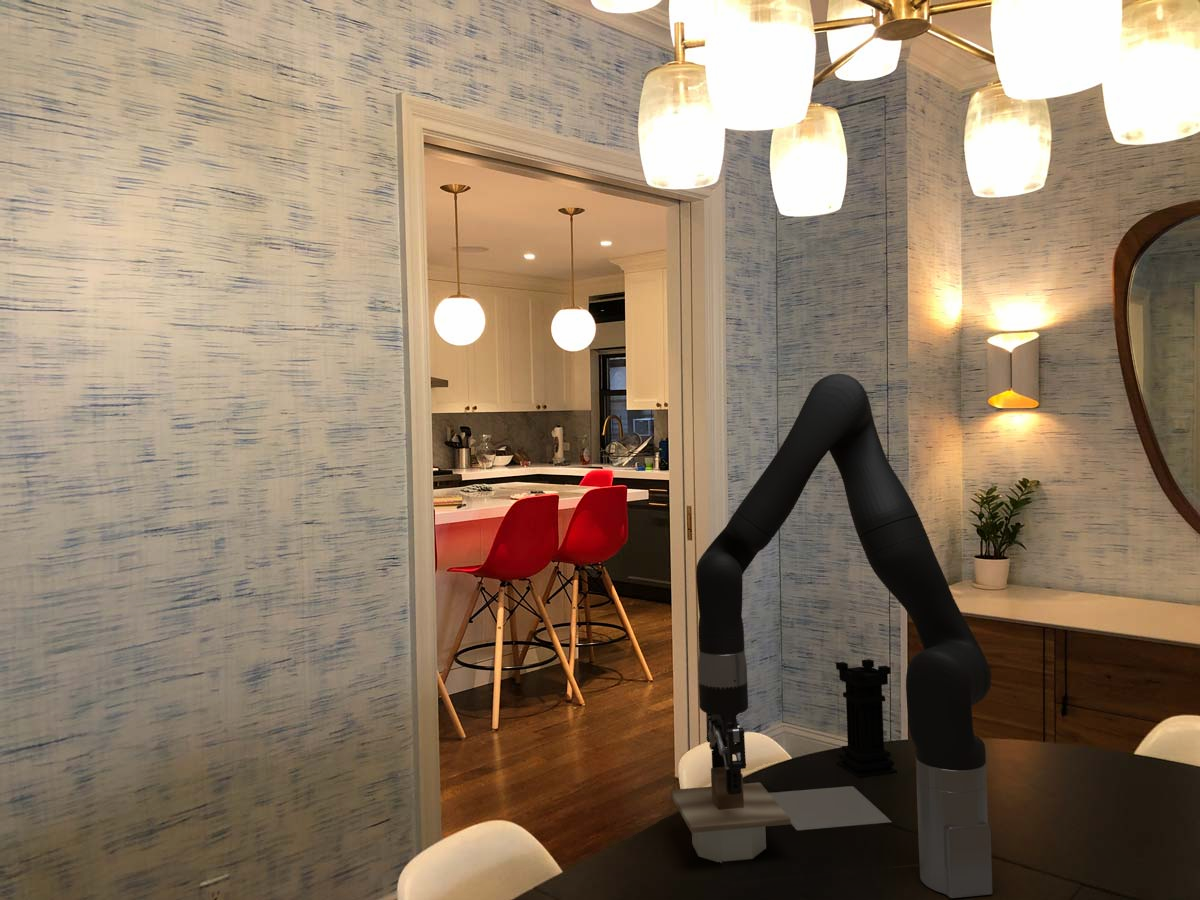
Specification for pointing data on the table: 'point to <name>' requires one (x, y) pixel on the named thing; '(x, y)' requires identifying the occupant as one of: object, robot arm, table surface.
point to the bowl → (730, 844)
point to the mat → (828, 808)
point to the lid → (727, 806)
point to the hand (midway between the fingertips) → (726, 783)
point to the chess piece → (865, 720)
